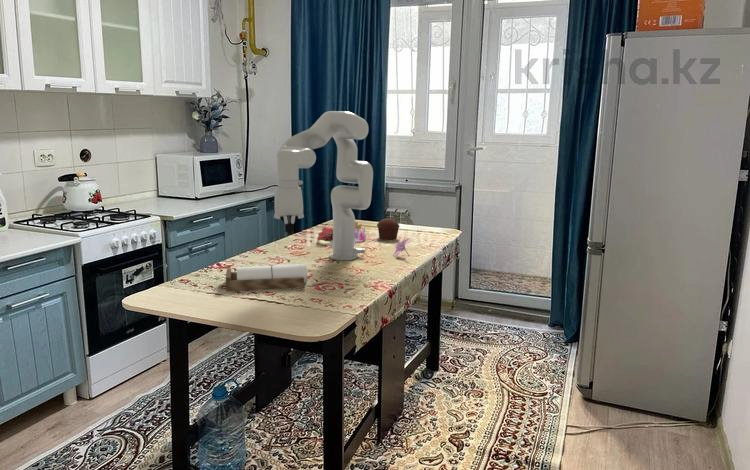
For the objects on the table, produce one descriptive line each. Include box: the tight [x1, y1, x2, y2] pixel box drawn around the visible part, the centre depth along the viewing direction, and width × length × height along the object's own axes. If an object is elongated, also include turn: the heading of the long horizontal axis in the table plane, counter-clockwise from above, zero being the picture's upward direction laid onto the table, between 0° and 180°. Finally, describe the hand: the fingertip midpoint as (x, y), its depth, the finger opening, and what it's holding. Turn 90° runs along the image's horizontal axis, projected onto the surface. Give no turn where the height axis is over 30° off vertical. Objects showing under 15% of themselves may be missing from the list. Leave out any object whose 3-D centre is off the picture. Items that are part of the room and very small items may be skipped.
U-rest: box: [225, 267, 305, 292], centre depth 208 cm, size 28×12×5 cm, turn 102°
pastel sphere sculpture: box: [316, 220, 366, 247], centre depth 279 cm, size 25×24×9 cm
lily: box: [392, 237, 410, 259], centre depth 251 cm, size 11×11×9 cm
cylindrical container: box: [236, 263, 308, 284], centre depth 207 cm, size 7×7×25 cm
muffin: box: [376, 217, 400, 241], centre depth 284 cm, size 12×11×10 cm
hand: (289, 233), depth 206 cm, fingers closed
